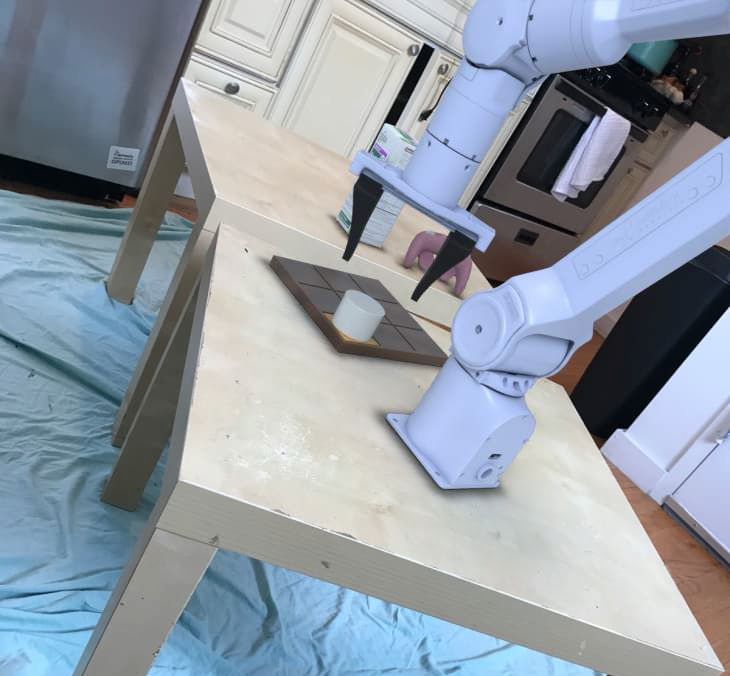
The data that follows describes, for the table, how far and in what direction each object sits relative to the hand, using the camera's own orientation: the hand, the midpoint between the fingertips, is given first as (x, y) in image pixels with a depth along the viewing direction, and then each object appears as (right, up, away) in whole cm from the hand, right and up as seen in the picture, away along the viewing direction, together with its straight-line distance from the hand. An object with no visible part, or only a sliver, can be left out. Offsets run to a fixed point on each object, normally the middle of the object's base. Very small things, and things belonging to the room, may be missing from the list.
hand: (380, 278), depth 73 cm
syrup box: (-3, +15, +33) cm, 37 cm away
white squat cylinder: (-3, -4, +3) cm, 6 cm away
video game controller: (+8, +10, +35) cm, 38 cm away
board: (-2, -1, +10) cm, 10 cm away
